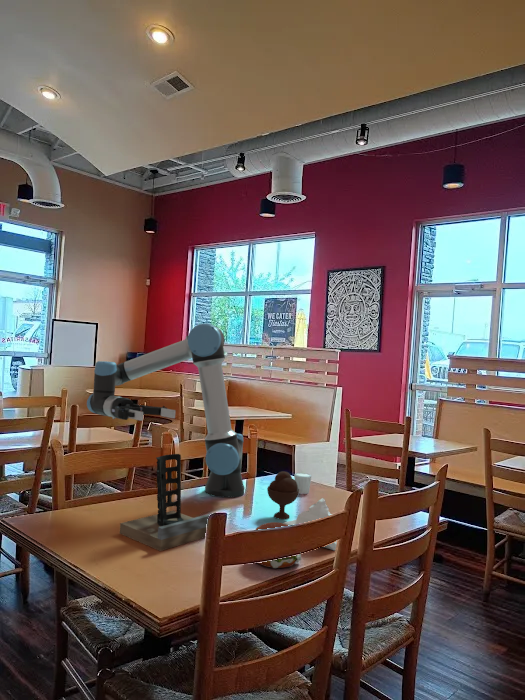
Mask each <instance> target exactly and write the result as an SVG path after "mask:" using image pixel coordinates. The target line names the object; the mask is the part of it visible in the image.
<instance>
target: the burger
mask: <svg viewBox="0 0 525 700" xmlns="http://www.w3.org/2000/svg"><path fill="white" fill-rule="evenodd" d="M281 526H288V525H286V524H284V522H283V523H282V522H278V521H277V522H275V521H273V522H265V523H264V524H263V523H262V524H261V525H259V526H257V527H256V528H255V530H258V529H267V528H275V527H281ZM301 560H302V553H301V554H299V555H296V556H291V557H286V558H282V559H277V560H272V561H267V562H262V563H257V564H259V565H261V566H263V567H268V568H273V569H277V568H278V569H281V568H283V569H284V568H288V567H292V566H293V565H295V564H296V563H298V562H299V561H301Z"/></svg>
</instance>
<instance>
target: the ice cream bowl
mask: <svg viewBox="0 0 525 700" xmlns="http://www.w3.org/2000/svg"><path fill="white" fill-rule="evenodd" d="M274 477H275V478H274V480H272V481H271V482H270V484H269V485H268V486H267V494H268V497H269V498H270V499H271V501H272V502H274V503H276V504H277V505H278V506H279V510H278V511H277V512H276V513H274V514H273V518H275V517H276V518H275V519H277V518H279V519H278V520H289V519H290V514H289V513H287V512H285V508H286V506H288V505H290V504H292V503H294V502H295V501H296V500H297V498H298V495H299V489H298V485H297V483H296V481H295V478H293V477H292V475H291V473H289V472H288V471H284V470H283V471H282V470H281V471H279V472H278V473H276V475H275V476H274Z"/></svg>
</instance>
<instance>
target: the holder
mask: <svg viewBox="0 0 525 700" xmlns="http://www.w3.org/2000/svg"><path fill="white" fill-rule="evenodd" d="M155 459H156V462H155V463H156V484H157V486H156V488H157V494H156V500H157V509H158V510H157V514H156V515H157V523H158V525H159V526H164V525H169V524H173V523H177V522H180V521H184V520H183V519H182V518H181V514H182V513H181V510H182V509H181V507H182V502H181V500H182V456H181V454H180V453H173V454H164V455H161V456H158V457H157V456H156V458H155ZM171 460H175V461H176V465H175V466H169V467H167V461H171ZM172 472H176V477H172V475H173V474H172ZM167 484H176V488H175V489H174V490H173V489H172V490H167ZM173 495H175V496H176V500H175V501H173V499H172V497H173ZM170 507H171V508H172V507H176V511H175V512H176V513H173V514H166V512H167V508H170ZM173 518H177V521H171V520H168V519H173ZM163 524H164V525H163Z"/></svg>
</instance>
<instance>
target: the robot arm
mask: <svg viewBox="0 0 525 700" xmlns="http://www.w3.org/2000/svg"><path fill="white" fill-rule="evenodd" d="M224 346H225V335H224V333H223V331H222V330H221V328H219V327H217V326H216V325H214V324H212V323H207V322H203V323H200V324H197V325H194V327H192V329H191V330H190V332H189V333H188V335H186V336H185V339H183V340H180V341H178V342H175V343H172V344H170V345H167V346H164V347H162V348H159V349H156V350H153V351H151V352H148V353H145V354H143V355H140V356H137V357H135V358H132V359H130V360H129V359H128V360H126V361H123V362H120V363H118V364H117V363H116V362H115V361H103V360H101V361H100V360H99V361H96V362H95V365H94V366H95V367H94V371H93V372H94V377H93V378H94V379H93V391H92V394H90V395H89V396H88V398H87V400H86V407H87V410H88V411H89V412H91V413H93V414H96V415H99V416H104V417H110V418H111V419H113V420H115V419H119V420H122V421H123V420H124V421H127V420H128V419H131V420H136V421H142V422H143V421H144V416H145V415H153V416H154V415H155V416H160V417H165V418H168V419H169V418H171V419H176V409H170V408H168V407H167V406H165V405H163V406H161V407H160V406H152V405H150V406H149V405H144V404H143V405H142V404H137V403H134V402H133V400H132V399H130V398H127V397H122V396H117V395H115V394H116V393H115V392H116V386H117V387H118V386H121V385H123V384H125V383H127V382H130V381H133V380H135V379H139V378H141V377H143V376H146V375H149V374H152V373H155V372H157V371H160V370H164V369H165V368H168V367H171V366H173V365H176V364H179V363H181V362H184V361H187V360H190V359H192V364H193V365H194V366H196V367H197V371H198V376H199V383H200V390H201V396H202V401H203V402H202V403H203V409H204V416H205V422H206V428H207V434H206V436H205V437H204V444H205V451H206V453H205V464H206V467H207V468H208V469H209V470H210V473H209V476H208V478H207V480H206V481H207V482H206V483H205V485H204V493H205V494H207V495H209V496H212V497H217V498H237V497H238V498H239V497H242V496H243V495H244V494H245V486H244V482H243V476H242V461H243V446H244V436H243V434H241V433H237V432H235V430H233V429H232V424H231V423H232V422H231V418H230V417H231V416H230V410H229V404H228V403H229V402H228V398H227V392H226V391H227V390H226V385H225V384H226V383H225V377H224V370H223V366H222V365H223V362H224V360H225V359H226V355H225V349H224Z"/></svg>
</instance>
